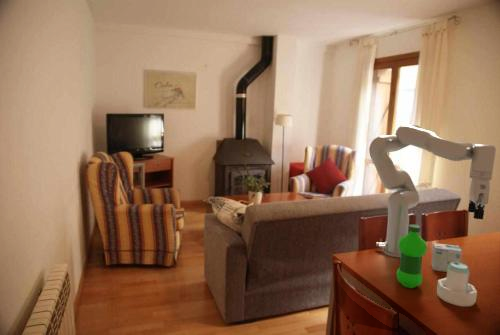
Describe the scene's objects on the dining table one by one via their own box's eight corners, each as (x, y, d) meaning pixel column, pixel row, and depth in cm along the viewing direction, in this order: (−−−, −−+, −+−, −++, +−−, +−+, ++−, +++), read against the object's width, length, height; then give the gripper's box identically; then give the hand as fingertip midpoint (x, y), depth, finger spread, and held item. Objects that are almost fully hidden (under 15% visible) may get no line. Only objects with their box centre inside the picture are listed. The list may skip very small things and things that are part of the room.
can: (441, 293, 130) (444, 263, 129) (450, 288, 134) (453, 259, 132) (460, 301, 125) (464, 270, 123) (469, 296, 129) (473, 266, 127)
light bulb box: (456, 267, 155) (459, 245, 153) (460, 274, 149) (463, 251, 147) (430, 264, 158) (432, 242, 157) (432, 270, 152) (435, 247, 150)
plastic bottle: (390, 278, 144) (395, 221, 140) (416, 279, 143) (421, 222, 139) (400, 290, 134) (406, 230, 130) (427, 291, 133) (434, 230, 129)
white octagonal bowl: (440, 302, 126) (441, 290, 125) (434, 286, 137) (435, 275, 137) (479, 309, 122) (480, 297, 121) (469, 292, 133) (471, 281, 133)
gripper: (498, 179, 129) (491, 222, 131) (485, 172, 144) (480, 211, 147) (475, 177, 131) (469, 220, 134) (465, 170, 147) (460, 208, 150)
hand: (475, 215), depth 141 cm, fingers open, 9 cm apart
